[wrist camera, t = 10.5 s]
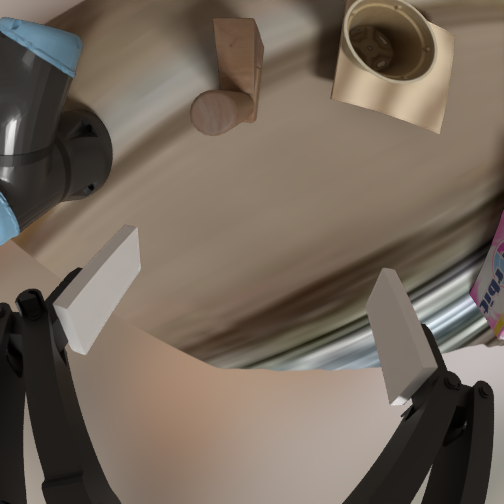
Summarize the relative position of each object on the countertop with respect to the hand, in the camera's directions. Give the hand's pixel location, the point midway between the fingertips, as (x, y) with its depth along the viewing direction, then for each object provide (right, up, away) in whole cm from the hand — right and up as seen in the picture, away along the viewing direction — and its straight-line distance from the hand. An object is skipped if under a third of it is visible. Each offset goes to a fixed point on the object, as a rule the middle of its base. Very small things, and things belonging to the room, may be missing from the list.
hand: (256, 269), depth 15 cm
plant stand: (+18, +26, +14) cm, 34 cm away
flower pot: (+13, +24, +10) cm, 29 cm away
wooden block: (-1, +23, +18) cm, 29 cm away
